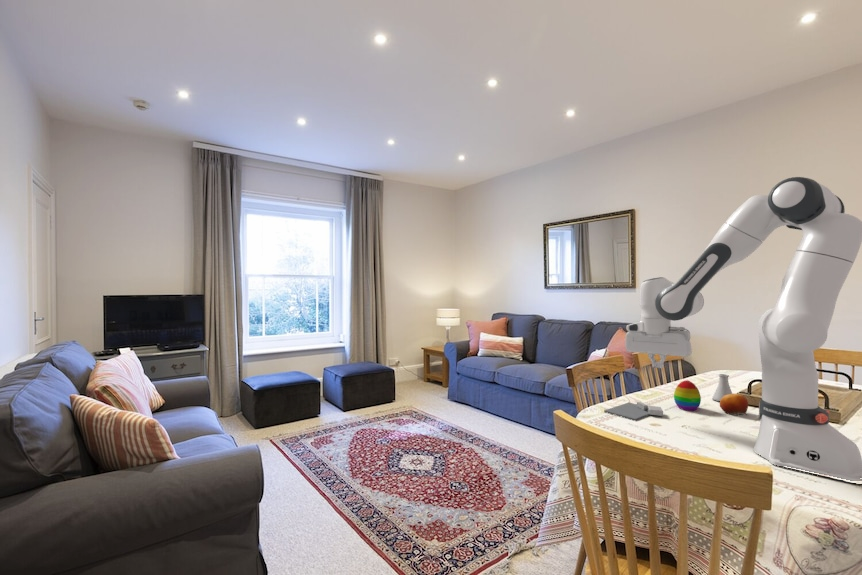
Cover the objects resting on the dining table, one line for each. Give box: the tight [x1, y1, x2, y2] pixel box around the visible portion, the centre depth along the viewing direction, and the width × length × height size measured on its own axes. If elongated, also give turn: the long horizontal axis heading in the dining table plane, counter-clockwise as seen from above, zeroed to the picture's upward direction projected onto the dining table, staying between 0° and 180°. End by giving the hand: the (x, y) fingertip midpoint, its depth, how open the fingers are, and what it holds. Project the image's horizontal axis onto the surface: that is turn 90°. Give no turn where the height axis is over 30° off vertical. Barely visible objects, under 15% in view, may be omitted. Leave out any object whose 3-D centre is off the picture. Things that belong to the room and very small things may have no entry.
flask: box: [711, 373, 733, 402], centre depth 157 cm, size 7×7×10 cm
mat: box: [604, 402, 651, 421], centre depth 144 cm, size 11×16×1 cm
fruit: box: [719, 393, 749, 417], centre depth 142 cm, size 8×8×8 cm
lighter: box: [636, 401, 664, 417], centre depth 143 cm, size 7×2×8 cm
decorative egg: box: [673, 380, 702, 411], centre depth 148 cm, size 8×8×10 cm
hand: (657, 367), depth 138 cm, fingers closed
